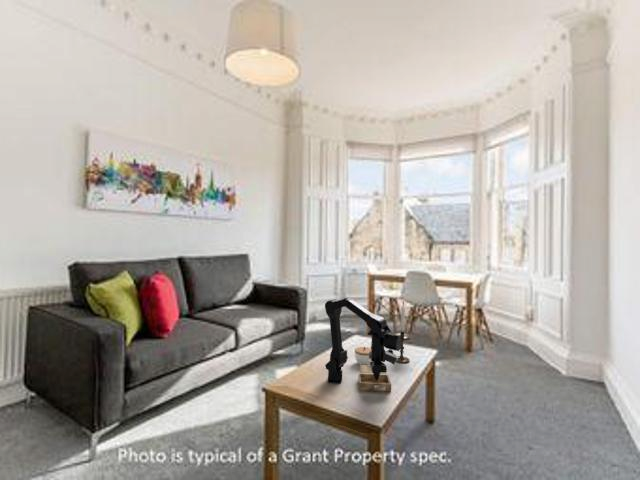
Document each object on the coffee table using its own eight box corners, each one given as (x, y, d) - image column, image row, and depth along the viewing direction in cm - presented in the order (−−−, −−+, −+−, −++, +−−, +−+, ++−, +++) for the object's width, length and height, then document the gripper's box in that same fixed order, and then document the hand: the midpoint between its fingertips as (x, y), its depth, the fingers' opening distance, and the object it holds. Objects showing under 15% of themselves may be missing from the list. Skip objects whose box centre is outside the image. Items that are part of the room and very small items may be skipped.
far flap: (360, 364, 177) (360, 365, 177) (360, 372, 173) (360, 372, 173) (384, 366, 177) (384, 366, 177) (386, 373, 172) (386, 374, 172)
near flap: (362, 382, 161) (362, 382, 161) (362, 382, 156) (362, 383, 156) (389, 383, 160) (389, 384, 160) (390, 384, 156) (390, 384, 156)
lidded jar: (351, 365, 192) (351, 348, 192) (358, 359, 202) (359, 342, 202) (369, 369, 188) (370, 351, 187) (376, 362, 197) (376, 346, 197)
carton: (359, 390, 161) (359, 383, 161) (358, 380, 173) (358, 373, 172) (391, 392, 161) (391, 384, 161) (388, 381, 172) (388, 374, 172)
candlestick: (413, 364, 196) (415, 302, 195) (393, 363, 196) (395, 301, 195) (408, 357, 207) (410, 298, 206) (390, 356, 207) (392, 297, 206)
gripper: (399, 353, 148) (398, 390, 148) (392, 340, 166) (391, 372, 167) (372, 352, 148) (371, 389, 149) (369, 339, 167) (368, 371, 167)
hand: (376, 380), depth 158 cm, fingers closed
